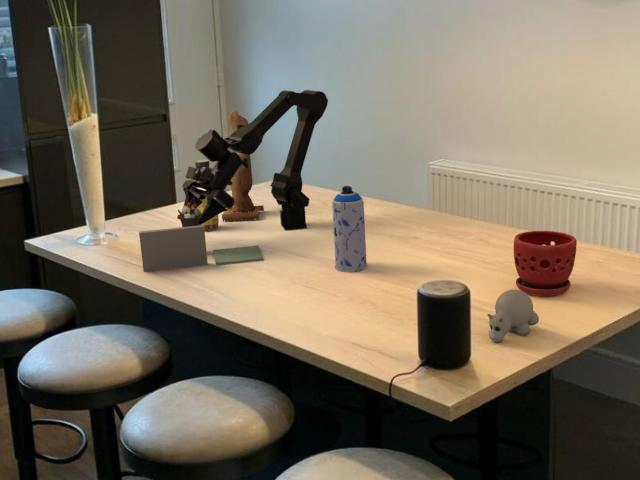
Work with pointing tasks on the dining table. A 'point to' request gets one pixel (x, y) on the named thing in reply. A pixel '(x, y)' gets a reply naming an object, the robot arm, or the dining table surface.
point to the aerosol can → (349, 231)
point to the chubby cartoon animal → (512, 315)
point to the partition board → (173, 248)
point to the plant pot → (544, 262)
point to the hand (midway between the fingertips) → (190, 220)
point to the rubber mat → (237, 255)
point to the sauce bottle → (214, 221)
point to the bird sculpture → (241, 184)
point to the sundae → (189, 215)
